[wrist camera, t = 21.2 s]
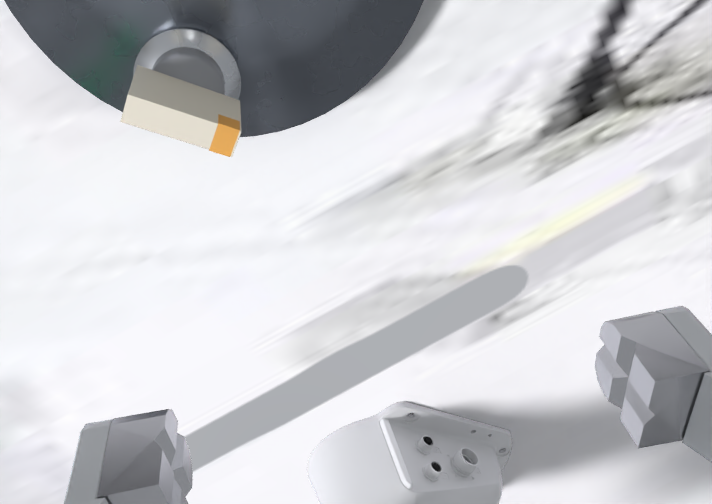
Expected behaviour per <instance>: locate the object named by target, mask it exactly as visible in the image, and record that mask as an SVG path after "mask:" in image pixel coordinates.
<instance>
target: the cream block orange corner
mask: <svg viewBox="0 0 712 504" xmlns="http://www.w3.org/2000/svg"><path fill="white" fill-rule="evenodd" d="M120 122H122V123H126V124H129V125H132V126H135V127H138V128H142V129H145V130H148V131H151V132H154V133H158V134H161V135H164V136H167V137H170V138H174V139H177V140H180V141H183V142H186V143H190V144H193V145H196V146H199V147H202V148H206V149H209V151H212V152H216V153H219V154H222V155H225V156H228V157H230V156H231V157H232V156H233V153H234V151H235V148H236V145H237V143H238V140H239V137H240V134H241V110H240V100H238V99H235V98H232V97H229V96H226V95H225V81H224V76H223V73H222V71H221V68H220V67H219V65H218V64H217V63H216V61H215V60H214V59H213V58H212V57H211V56H209V55H208V54H206V53H205V52H203V51H201V50H198V49H195V48H190V47H178V48H174V49H171V50H169V51H167V52H165V53H163V54H162V55H161V56H160V57H159V58H158V59H157V60H156V62H155V63H154V65H153V68H152V70H151V69H148V68H145V67H142V66H140V65H137V67H136V70H135V73H134V77H133V80H132V83H131V86H130V89H129V92H128V95H127V99H126V103H125V106H124V110H123V114H122V118H121V121H120Z"/></svg>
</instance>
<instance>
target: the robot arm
mask: <svg viewBox="0 0 712 504" xmlns="http://www.w3.org/2000/svg"><path fill="white" fill-rule="evenodd" d="M599 337H600V338H601V340H602V341H603V343H604V344H605V345H604V346H603V347H602V348H601V349H600V350H599V351H598V352H597V354H596V362H595V368H596V374H597V380H598V382H599V385H600V387H601V389H602V391H603V393H604V395H605V396H606V398H607V400H608V401H609V402H611V403H613V404H615V405H616V406H618V407H620V408H622V411H621V417H620V420H621V422H622V424H623V425H624V427H625V428H626V430H627V431H628V433H629V435H630V436H631V438H632V439H633V441H634V442H635V444H636V446H637V447H638V448H642V447H648V446H653V445H659V444H664V443H669V442H675V441H680V440H683V442H682V443H684V444H685V445H687V446H688V447H690V448H691V449H693V450H694V451H696V452H697V453H699V454H700V455H702V456H703V457H704V458H706V459H707V460H709V461H710V462H712V334H711V333H710V332H709V331H708V330H707V329H706V328H705V327H704V326H703V324H702V323H701V322H700V321H699V320H698V319H697V318H696V317H695V316H694V315H693V313H692V312H691V311H690V310H689V309H688V308H686V307H683V306H678V307H673V308H669V309H664V310H659V311H656V312H648V313H643V314H639V315H634V316H629V317H624V318H620V319H615V320H610V321H605V322H604V324H603V325H602V327H601V331H600V336H599ZM409 413H413V414H412V415H407V414H409ZM177 425H178V421H177V418H176V416H175V414H174V412H173V410H172V409H166V410H160V411H155V412H149V413H143V414H137V415H132V416H126V417H120V418H114V419H111V420H105V421H100V422H94V423H88V424H85V426H84V428H83V429H82V431H81V432H80V436H79V440H78V445H77V449H76V453H75V458H74V462H73V466H72V471H71V475H70V479H69V484H68V488H67V492H66V496H65V501H64V504H188V502H187V500H186V498H185V497H186V495H187V494H188V492H189V491H190V490H191V488H192V474H193V473H192V464H191V455H190V451H189V447H188V444H187V442H186V439H185V437H184V436H182V435H180V434H178V433H177ZM502 448H504V449H502ZM500 449H502V450H500ZM511 449H512V438H511V434H510V431H508V430H506V429H503V428H499V427H496V426H492V425H489V424H485V423H481V422H478V421H474V420H470V419H467V418H463V417H460V416H456V415H452V414H449V413H445V412H441V411H438V410H434V409H431V408H427V407H423V406H420V405H416V404H412V403H409V402H397V403H395V404H392V405H390V406H389V407H387V408H385V409H384V410H382V411H381V412H379V413H378V414H376V415H374V416H372V417H369V418H366V419H362V420H359V421H356V422H353V423H351V424H348V425H346V426H344V427H342V428H340V429H338V430H336V431H334V432H333V433H331V434H330V435H328V436H327V437H325V438H324V439H323V440H322V441H321V442H320V443H319V444H318V445H317V446H316V447H315V449H314V450H313V451H312V453H311V455H310V457H309V459H308V463H307V476H308V479H309V481H310V483H311V485H312V487H313V489H314V491H315V493H316V496H317V498H318V501H319V504H499V501H500V498H501V495H502V475H501V471H502V470H503V468H504V466H505V464H506V462H507V460H508V458H509V456H510V453H511Z"/></svg>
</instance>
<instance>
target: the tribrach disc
mask: <svg viewBox="0 0 712 504" xmlns="http://www.w3.org/2000/svg"><path fill="white" fill-rule="evenodd" d="M5 2H6V4H7V6H8V7H9V9H10V11H11V12H12V14H13V15H14V16H15V18H16V19H17V20H18V22H19V23H20V24H21V26H22V27H23V28H24V30H25V31H26V32H27V34H28V35H29V37H30V38H31V39H32V40H33V41H34V42H35V43H36V45H37V46H38V47H39V48H40V49H41V50H42V51H43V52H44V53H45V54H46V55H47V56H48V58H49V59H50V60H51V61H52V62H53V63H54V64H55V65H57V66H58V67H59V68H60V69H61V70H62V71H63V72H65V73H66V74H67V75H68V76H69V77H70V78H71V79H73V80H74V81H75V82H76V83H77V84H79V85H80V86H82V87H83V88H84V89H86V90H87V91H89V92H90V93H92V94H93V95H94V96H96V97H97V98H99V99H100V100H102V101H104V102H105V103H107V104H109V105H111V106H113V107H115V108H116V109H118V110H120V111H122V112H123V110H124V106H125V103H126V99H127V95H128V92H129V89H130V86H131V83H132V80H133V77H134V73H135V70H136V67H137V65H140V66H142V67H145V68H148V69H151V70H152V68H153V65H154V63H155V62H156V60H157V59H158V58H159V57H160V56H161V55H162V54H163V53H165V52H167V51H169V50H171V49H174V48H178V47H190V48H195V49H198V50H201V51H203V52H205V53H206V54H208V55H209V56H211V57H212V58H213V59H214V60H215V61H216V63H217V64H218V65H219V67H220V68H221V71H222V73H223V76H224V81H225V95H226V96H229V97H232V98H235V99H238V100H240V110H241V134H240V137H248V136H257V135H263V134H268V133H273V132H278V131H282V130H285V129H288V128H291V127H294V126H298V125H301V124H303V123H306V122H308V121H310V120H312V119H314V118H316V117H319V116H321V115H323V114H325V113H327V112H328V111H330V110H332V109H333V108H335V107H336V106H338V105H340V104H341V103H343V102H345V101H346V100H347V99H349V98H350V97H351V96H352V95H354V94H355V93H356V92H357V91H359V90H360V89H361V88H362V87H364V86H365V85H366V84H367V83H368V82H369V81H370V80H371V79H372V78H373V77H374V76H375V75H376V74H377V73H378V72H379V71H380V70H381V69H382V68H383V67H384V66H385V64H386V63H387V62H388V60H389V59H390V58H391V56H392V55H393V54H394V52H395V51H396V50H397V49H398V47H399V46H400V45H401V43H402V41H403V39H404V38H405V36H406V34H407V33H408V31H409V29H410V28H411V26H412V24H413V22H414V21H415V18H416V16H417V14H418V12H419V9H420V7H421V5H422V3H423V0H5Z"/></svg>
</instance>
